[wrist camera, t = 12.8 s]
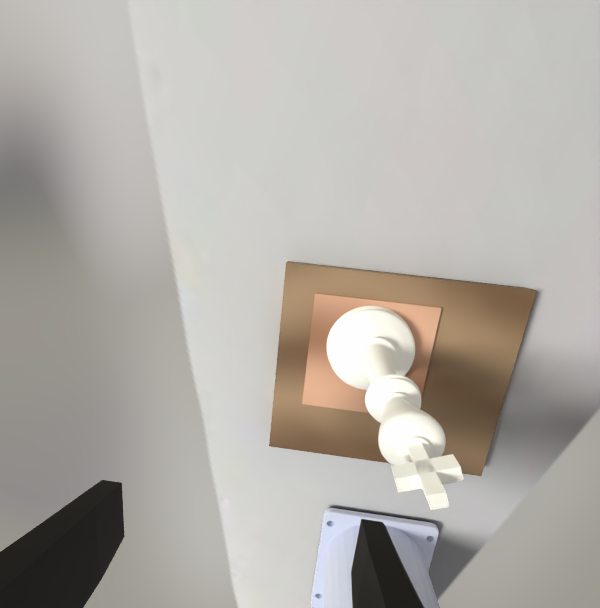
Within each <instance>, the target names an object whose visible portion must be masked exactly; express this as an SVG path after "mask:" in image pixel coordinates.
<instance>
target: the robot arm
mask: <svg viewBox="0 0 600 608" xmlns="http://www.w3.org/2000/svg"><path fill="white" fill-rule="evenodd" d="M438 535H439V531H438V528H437V526H436V525H435V524H434V523H430V522H424V521H417V520H410V519H403V518H397V517H390V516H383V515H376V514H370V513H363V512H356V511H350V510H343V509H336V508H328V509H326V510H325V512H324V517H323V523H322V530H321V536H320V543H319V550H318V556H317V563H316V569H315V576H314V582H313V589H312V595H311V606H312V608H440V607H439V604H438V601H437V598H436V595H435V592H434V588H433V585H432V582H431V579H430V576H429V573H428V571H429V568H430V564H431V560H432V557H433V553H434V549H435V546H436V542H437V539H438ZM123 538H124V521H123V500H122V483H119V482H112V481H105V480H102V481H100V482H99V483H97V484H96V485H94V486H93V487H92V488H90V489H89V490H88V491H86V492H85V493H83V494H82V495H80V496H79V497H78V498H76V499H75V500H73V501H72V502H71V503H69V504H68V505H66V506H65V507H64V508H62V509H61V510H60V511H58V512H57V513H55V514H54V515H52V516H51V517H50V518H48V519H47V520H45V521H44V522H43V523H41V524H40V525H38V526H37V527H36V528H34V529H33V530H31V531H30V532H28V533H27V534H26V535H24V536H23V537H21V538H20V539H18V540H17V541H15V542H14V543H13V544H11V545H10V546H8V547H7V548H5V549H4V550H3V551H1V552H0V608H83V607H84V605H85V604H86V602H87V601H88V599H89V598H90V596H91V595H92V593H93V592H94V590H95V588H96V587H97V585H98V584H99V582H100V581H101V579H102V577H103V575H104V573H105V572H106V570H107V568H108V566H109V564H110V562H111V561H112V559H113V557H114V555H115V553H116V551H117V549H118V547H119V545H120V543H121V542H122V540H123Z"/></svg>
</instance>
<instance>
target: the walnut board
mask: <svg viewBox="0 0 600 608" xmlns="http://www.w3.org/2000/svg"><path fill="white" fill-rule="evenodd" d="M535 295H536V290H532V289H527V288H523V287H514V286H505V285H496V284H487V283H478V282H469V281H460V280H451V279H442V278H433V277H424V276H415V275H406V274H397V273H388V272H379V271H370V270H361V269H352V268H343V267H334V266H325V265H316V264H307V263H298V262H289V261H288V262H287V263H286V271H285V281H284V292H283V303H282V314H281V325H280V336H279V346H278V357H277V368H276V379H275V390H274V400H273V411H272V422H271V433H270V444H269V446H272V447H279V448H286V449H293V450H300V451H307V452H314V453H322V454H329V455H336V456H343V457H350V458H357V459H364V460H371V461H378V462H386V463H389V462H388V461H387V460H386V459H385V458H384V457H383V455H382V453H381V451H380V448H379V443H378V435H379V429H380V425H381V423H380V422H378V421H377V420H375V419H374V418H373V417H372V416H371V414H370V413H369V412H368V410H367V408H366V404H365V395H366V392H367V390H362V389H358V388H355V387H352V386H350V385H348V384H347V383H345V382H344V381H343V380H341V379H340V378H339V377H338V376H337V374H336V373H335V372H334V370H333V368H332V366H331V364H330V362H329V359H328V356H327V339H328V335H329V332H330V330H331V328H332V327H333V325H334V324H335V322H336V321H337V320H338V319H339V318H340V317H341V316H343V315H344V314H345V313H347V312H349V311H351V310H353V309H355V308H358V307H363V306H380V307H384V308H387V309H389V310H392V311H393V312H395V313H397V314H398V315H399V316H400V317H402V318H403V319H404V321H405V322H406V323H407V325H408V326H409V328H410V330H411V332H412V335H413V337H414V341H415V357H414V360H413V363H412V365H411V367H410V369H409V371H408V372H407V373H406V375H405V377H407V378H409V379H411V380H412V381H413V382H414V383H415V384H416V385H417V386H418V388H419V390H420V393H421V408H420V410H422V411H424V412H426V413H427V414H429V415H430V416H431V417H433V418H434V419H435V420H436V421H437V422H438V423H439V424H440V426H441V427H442V429H443V431H444V434H445V438H446V444H445V449H444V452H443V454H442V455H441V456H446V455H451V454H453V455H454V457H455V458H456V460H457V461H458V463H459V465H460V466H461V471H462V473H464V474H471V475H478V476H481V475H482V471H483V468H484V465H485V461H486V458H487V455H488V451H489V448H490V445H491V441H492V438H493V435H494V431H495V428H496V425H497V421H498V418H499V415H500V411H501V408H502V405H503V401H504V398H505V395H506V391H507V388H508V385H509V381H510V378H511V375H512V371H513V368H514V365H515V361H516V358H517V355H518V351H519V348H520V345H521V341H522V338H523V335H524V331H525V328H526V325H527V321H528V318H529V315H530V311H531V308H532V305H533V301H534V298H535Z"/></svg>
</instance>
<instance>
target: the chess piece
mask: <svg viewBox="0 0 600 608" xmlns="http://www.w3.org/2000/svg"><path fill="white" fill-rule="evenodd" d="M327 356H328V359H329V362H330V364H331V366H332V368H333V370H334V372H335V373H336V374H337V376H338V377H339V378H340V379H341V380H343V381H344V382H345V383H347V384H348V385H350V386H352V387H355V388H358V389H362V390H367V392H366V395H365V404H366V408H367V410H368V412H369V413H370V414H371V416H372V417H373V418H374V419H375V420H377V421H378V422H380V423H381V425H380V429H379V435H378V443H379V448H380V451H381V453H382V455H383V457H384V458H385V459H386V460H387V461H388V462H389V463H390V464H392V465H393V466H391V469H392V473H393V476H394V480H395V483H396V486H397V490H398V492H404V491H409V490H415V489H420V488H422V489H423V491H424V494H425V496H426V499H427V501H428V504H429V506H430V509H431V510H435V509H440V508H446V507H449V503H448V499H447V494H446V491H445V489H444V487H443V485H442V484H447V483H452V482H458V481H463V475H462V471H461V466H460V465H459V463H458V461H457V460H456V458H455V457H454V455H453V454H451V455H446V456H441V455H442V454H443V452H444V449H445V444H446V438H445V434H444V431H443V429H442V427H441V426H440V424H439V423H438V422H437V421H436V420H435V419H434V418H433V417H431V416H430V415H429V414H427V413H426V412H424V411H422V410H420V408H421V393H420V390H419V388H418V386H417V385H416V384H415V383H414V382H413V381H412V380H411V379H409V378H407V377H405V375H406V373H407V372H408V371H409V369H410V367H411V365H412V363H413V360H414V357H415V341H414V337H413V335H412V332H411V330H410V328H409V326H408V325H407V323H406V322H405V321H404V319H403V318H402V317H400V316H399V315H398V314H397V313H395V312H393V311H392V310H389V309H387V308H384V307H380V306H363V307H358V308H355V309H353V310H351V311H349V312H347V313H345V314H344V315H343V316H341V317H340V318H339V319H338V320H337V321H336V322H335V324H334V325H333V327H332V328H331V330H330V332H329V335H328V339H327Z"/></svg>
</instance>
